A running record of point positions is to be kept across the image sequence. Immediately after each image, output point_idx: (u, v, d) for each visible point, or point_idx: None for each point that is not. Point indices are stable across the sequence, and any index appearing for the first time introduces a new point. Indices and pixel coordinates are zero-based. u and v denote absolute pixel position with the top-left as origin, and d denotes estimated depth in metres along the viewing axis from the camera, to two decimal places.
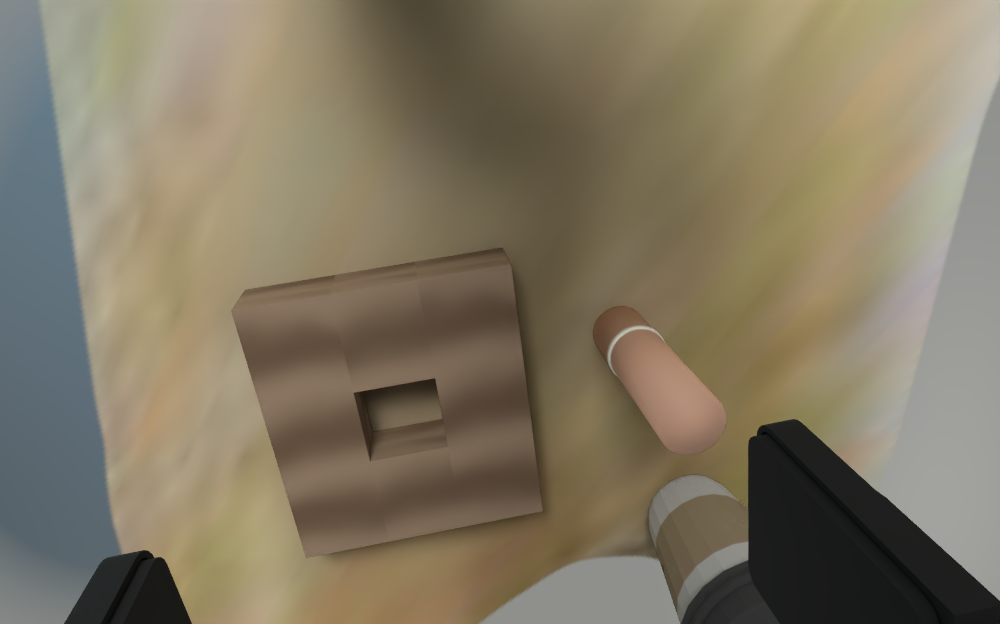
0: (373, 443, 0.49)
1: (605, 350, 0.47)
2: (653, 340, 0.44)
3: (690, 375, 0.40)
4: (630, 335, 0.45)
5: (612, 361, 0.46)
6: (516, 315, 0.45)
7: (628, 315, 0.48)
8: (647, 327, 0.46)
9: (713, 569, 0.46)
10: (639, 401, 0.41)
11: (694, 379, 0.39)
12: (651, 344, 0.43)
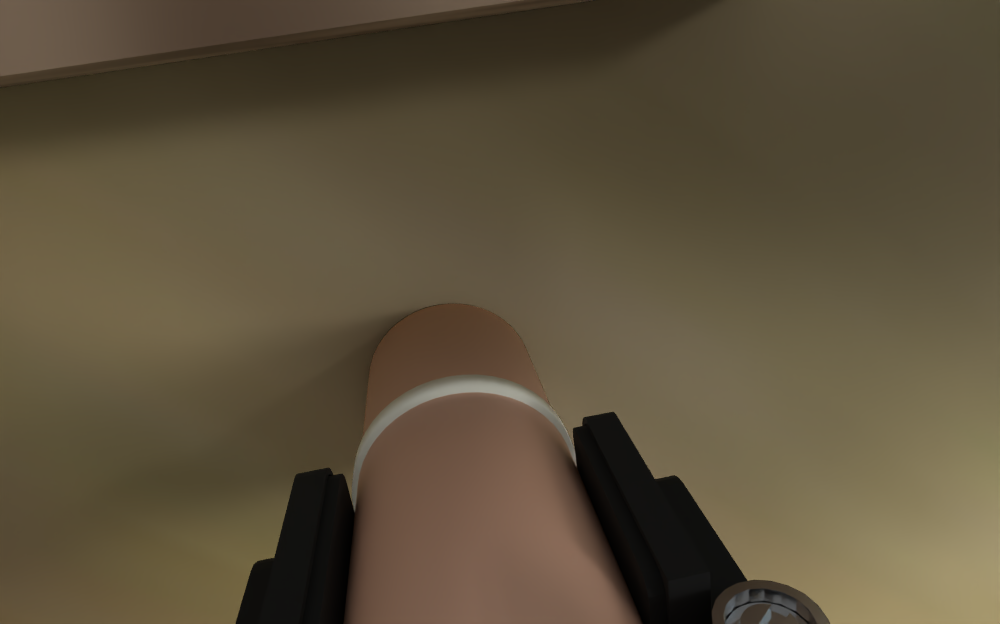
0: None
1: (457, 363, 0.13)
2: None
3: None
4: (572, 458, 0.12)
5: (461, 407, 0.11)
6: None
7: None
8: None
9: None
10: None
11: None
12: None
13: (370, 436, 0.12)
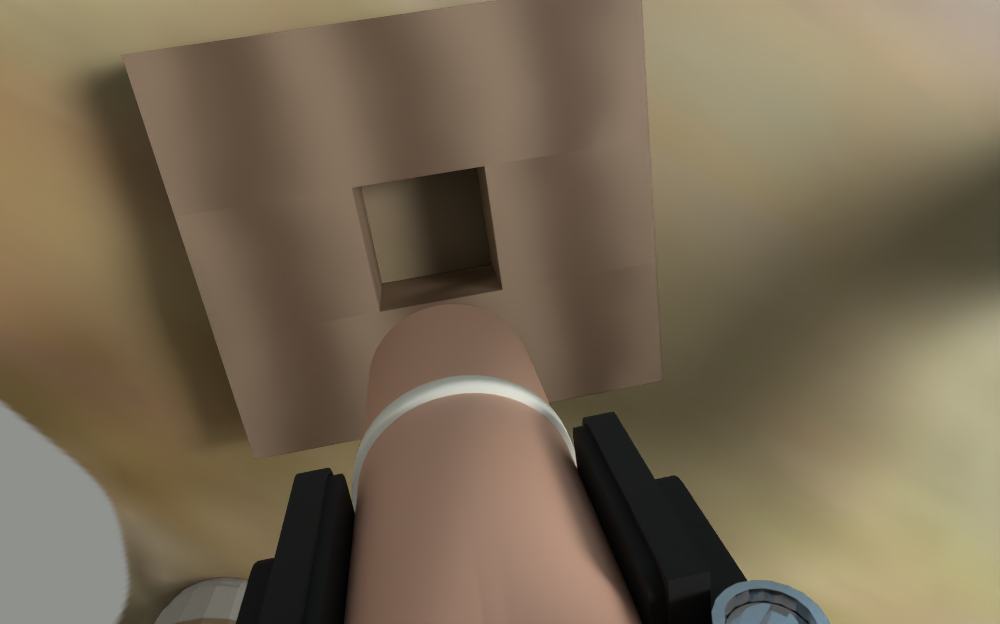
0: None
1: (457, 364, 0.13)
2: None
3: None
4: (572, 459, 0.12)
5: (462, 408, 0.11)
6: (590, 393, 0.33)
7: None
8: None
9: None
10: None
11: None
12: None
13: (370, 437, 0.12)
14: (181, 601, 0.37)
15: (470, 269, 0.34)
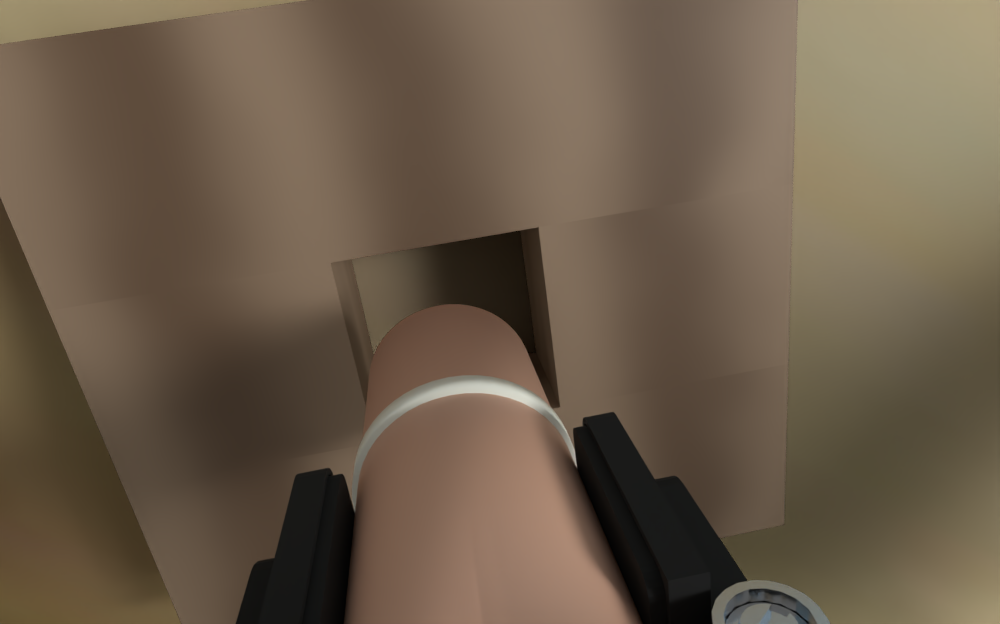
0: None
1: (457, 364, 0.13)
2: None
3: None
4: (572, 459, 0.12)
5: (462, 408, 0.11)
6: None
7: None
8: None
9: None
10: None
11: None
12: None
13: (370, 437, 0.12)
14: None
15: None
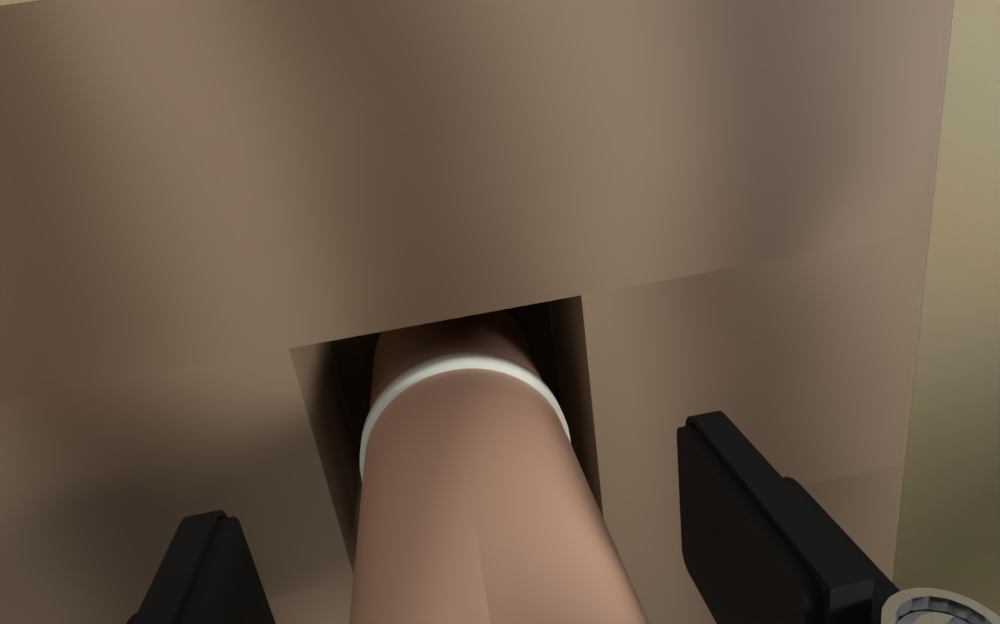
0: None
1: (457, 343, 0.14)
2: None
3: None
4: (564, 430, 0.13)
5: (461, 381, 0.12)
6: None
7: None
8: None
9: None
10: None
11: None
12: None
13: (377, 409, 0.13)
14: None
15: None
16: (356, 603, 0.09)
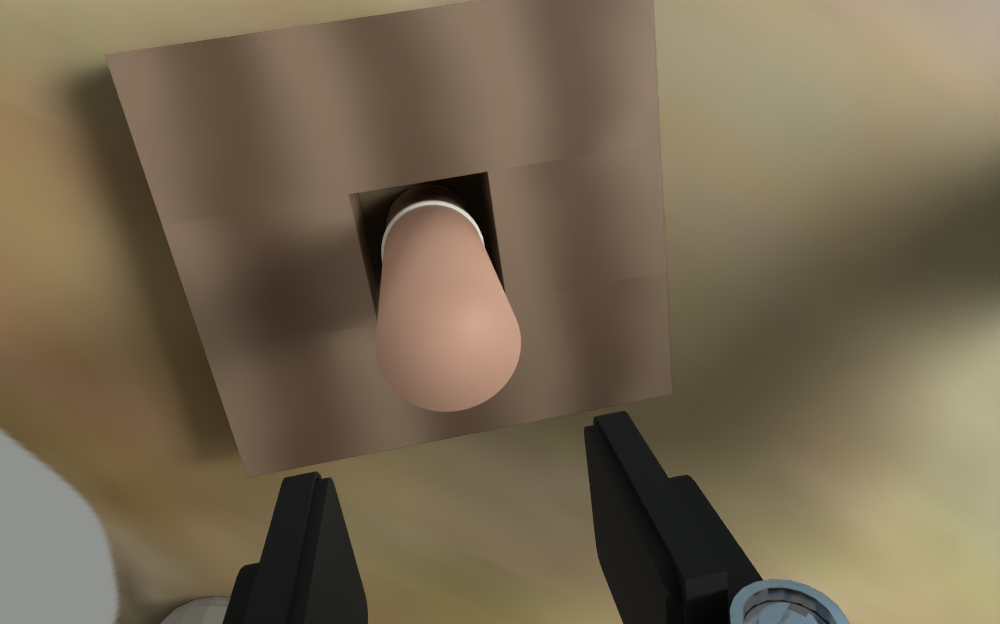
0: None
1: (429, 198, 0.27)
2: None
3: None
4: (479, 234, 0.26)
5: (429, 207, 0.26)
6: (598, 407, 0.31)
7: None
8: None
9: None
10: (434, 245, 0.21)
11: None
12: None
13: (389, 224, 0.26)
14: (172, 622, 0.35)
15: None
16: (384, 267, 0.23)
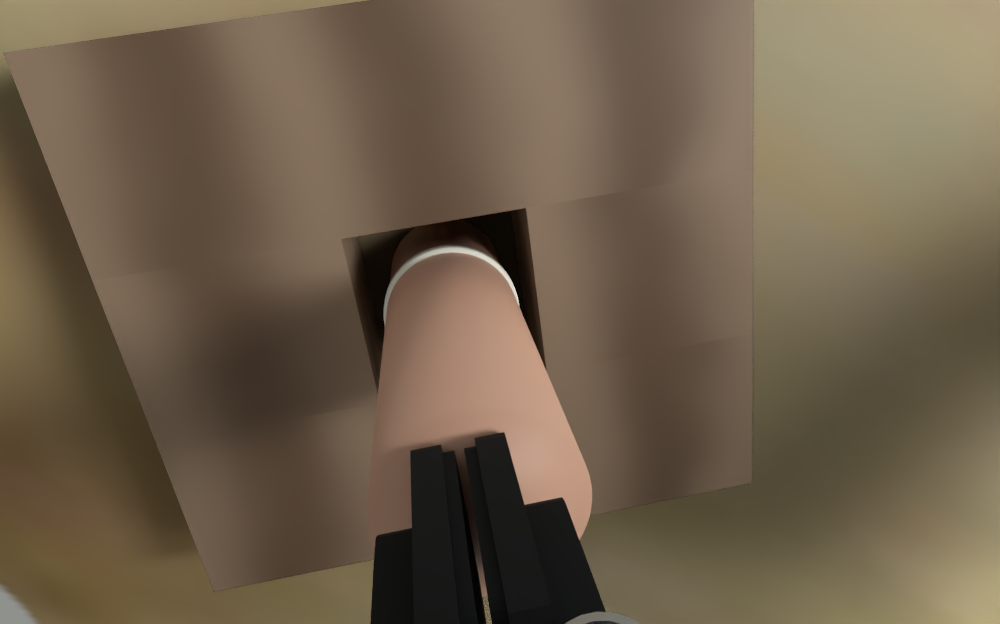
0: None
1: (446, 242, 0.21)
2: None
3: None
4: (513, 292, 0.20)
5: (447, 257, 0.19)
6: (658, 500, 0.25)
7: None
8: None
9: None
10: (457, 332, 0.14)
11: None
12: None
13: (394, 278, 0.20)
14: None
15: None
16: (385, 352, 0.16)
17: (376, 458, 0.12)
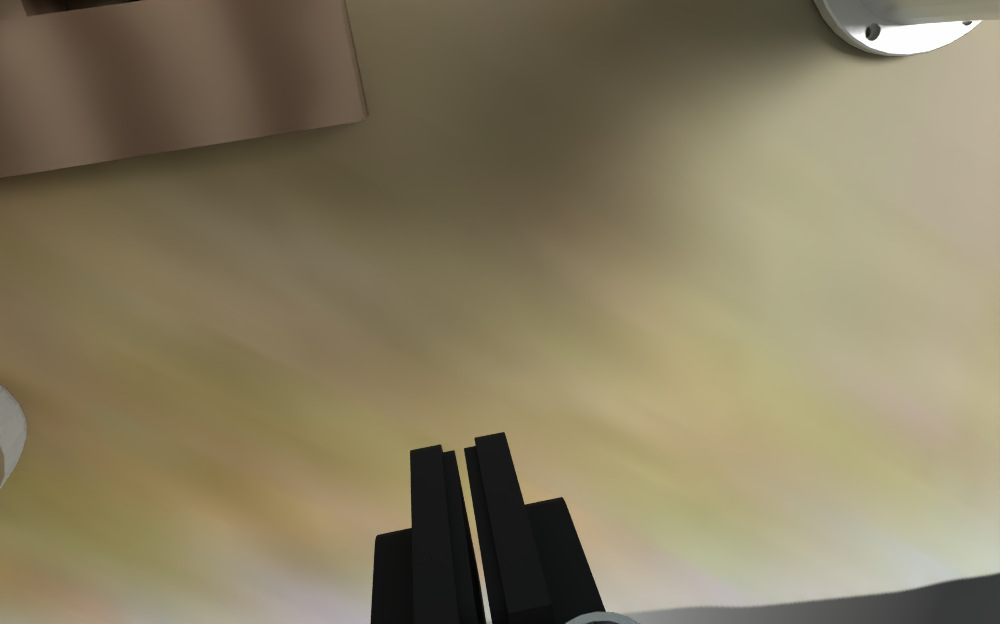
0: None
1: None
2: None
3: None
4: None
5: None
6: (285, 131, 0.31)
7: None
8: None
9: None
10: None
11: None
12: None
13: None
14: None
15: None
16: None
17: None
